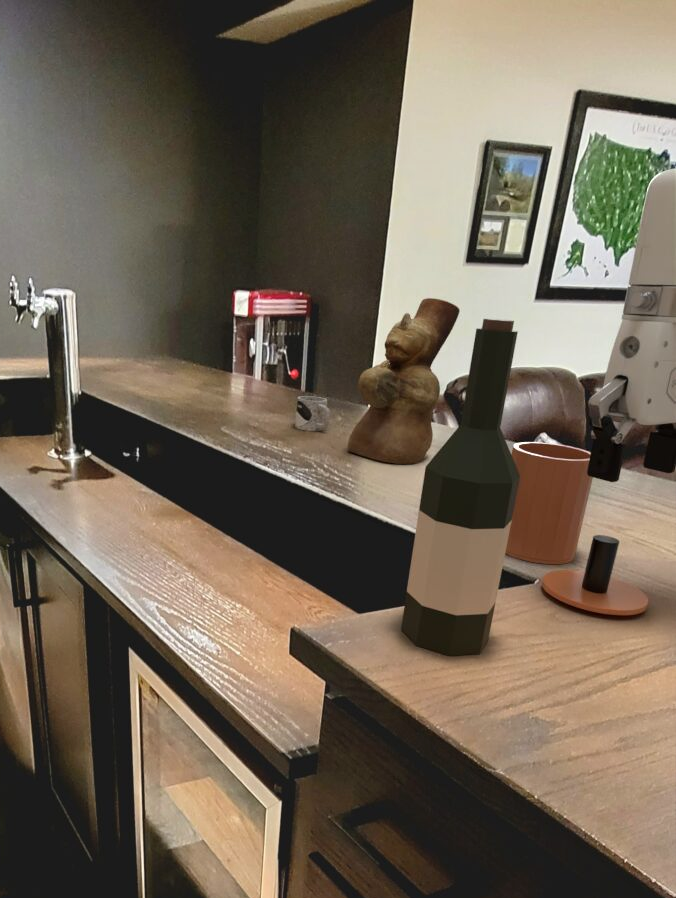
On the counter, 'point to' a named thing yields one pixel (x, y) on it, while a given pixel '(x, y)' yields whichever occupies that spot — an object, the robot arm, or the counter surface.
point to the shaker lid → (596, 583)
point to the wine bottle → (466, 511)
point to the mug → (312, 413)
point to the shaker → (548, 502)
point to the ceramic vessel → (404, 388)
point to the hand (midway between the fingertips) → (630, 474)
